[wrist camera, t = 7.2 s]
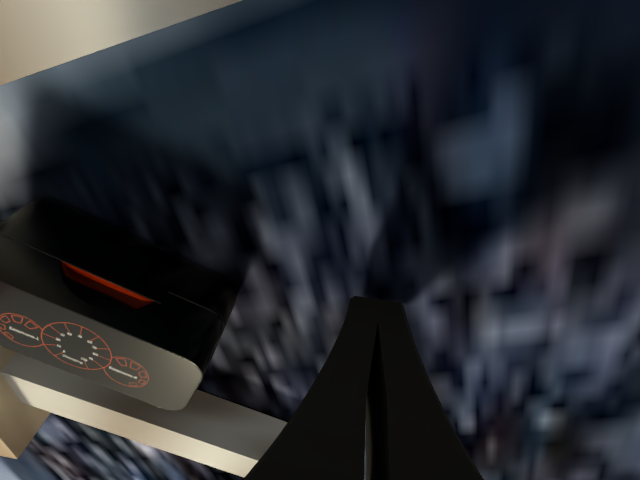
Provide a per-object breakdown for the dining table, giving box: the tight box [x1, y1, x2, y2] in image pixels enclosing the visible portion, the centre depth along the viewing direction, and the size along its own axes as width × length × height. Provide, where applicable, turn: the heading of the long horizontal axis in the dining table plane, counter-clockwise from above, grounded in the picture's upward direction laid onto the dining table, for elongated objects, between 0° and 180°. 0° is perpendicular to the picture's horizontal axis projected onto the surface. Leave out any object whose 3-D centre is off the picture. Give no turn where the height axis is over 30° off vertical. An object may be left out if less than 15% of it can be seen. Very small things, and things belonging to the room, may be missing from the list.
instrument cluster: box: [0, 198, 236, 411], centre depth 12 cm, size 5×7×3 cm, turn 63°
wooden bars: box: [0, 0, 288, 477], centre depth 11 cm, size 12×19×3 cm, turn 177°
